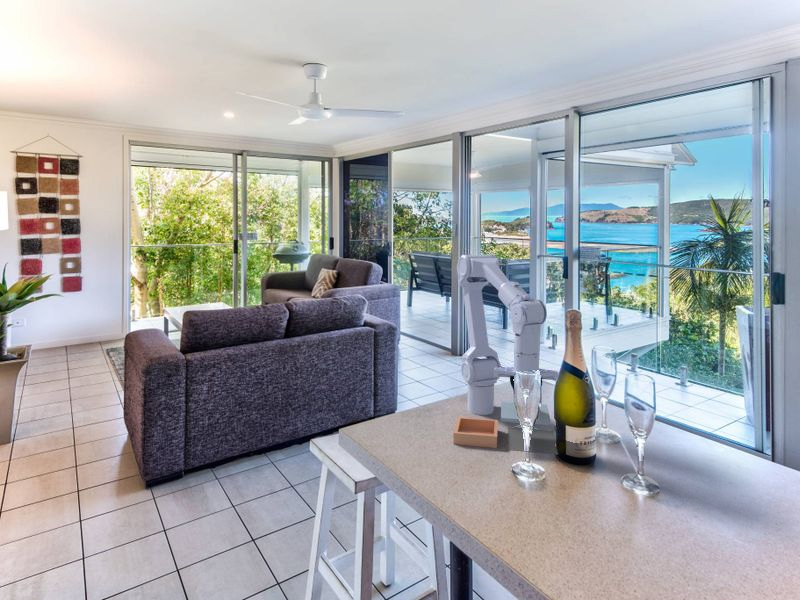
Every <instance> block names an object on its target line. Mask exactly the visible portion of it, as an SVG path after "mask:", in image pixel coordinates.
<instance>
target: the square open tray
mask: <svg viewBox="0 0 800 600" xmlns="http://www.w3.org/2000/svg"><path fill="white" fill-rule="evenodd" d="M456 419H457V420H456V422H455V426H454V429H453V430H454V431H453V441H452V442H453V445H461V446H470V447H471V446H472V447H480V448H481V447H482V448H490V449H491V448H493V449H497V448H498V433H499V432H498V431H499V420H498V419H493V418H492V419H487V418H477V417H464V416H457V418H456Z"/></svg>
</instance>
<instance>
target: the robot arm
mask: <svg viewBox="0 0 800 600" xmlns="http://www.w3.org/2000/svg"><path fill="white" fill-rule="evenodd" d="M456 271H457V272H456V273H457V281H458V286H459V287H461V288H462V294H463V303H464V311H465V318H466V326H467V334H468V342H469V348H468V349H467V350H466V352H464V353H463V355H462V356H461V367H460V368H461V369H460V371H461V377H462V379H463V380H464V381H465V382H466V383H467V412H469V413H470V414H473V415H478V416H487V415H492V414H493V413H494V410H495V407H496V405H495V404H494V403H495V384H497V383H498V380H499V379H500V378H509V382H510V386H511V387H512V391H514V381H513V379H514V373H515V375H516V370H517V371H518V372H519V371H521V372H524V371H529V370H535V371H537V370H539V371H540V375H541V387H543V380H545V381H546V380H548V381H549V380H550V381H554V382H557V381H556V380H558V379H557V377H558V374H559V375H560V372H559V371H558V370H553V369H545V368H540V349H541V346H540V345H541V327H542V326H541V325H543V324H544V323H545V322H546V321H547V320H546V319H547V314H548V313H547V307H546V305H545V303H544V302H543V301H542V300H541V299H535V298H532V297H531V296H530V295H529V294H528V293H527V292H526V291H525V290H524V289H523V288H522V287H521V284H520V283H519V282H518V281H510V280H509V278H508V277H507V276H506V275H505V274H504V272H503V270H502V269H501V268H500V259H498V258H497V256H496V255H495V254H494V253H489V254H462V255H461V256H459V258H458V261H457V264H456ZM489 283H490V284H491V285H492V286H493V288H495V289H496V290H497V291H498V293H497V297H498V299H499V300H500V301H501V302H502V304H503V305H504V306H505V307H506V309H507V310H509V316H510V321H511V323H512V331H513V333H514V349H513V352H514V354H513V366H507V367H506V366H505V367H502V364H501V362H500V359H499V354H498V352H497V351H496V350H494V349H493V348H491V346H489V337H488V330H487V323H486V313H485V308H484V307H485V306H484V299H483V291H482V290H483V289H484V287H486V286H487V285H489ZM482 357H483V358H482ZM476 358H477V359H476ZM558 378H560V376H559V377H558ZM558 381H559V380H558Z"/></svg>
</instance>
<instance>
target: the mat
mask: <svg viewBox="0 0 800 600" xmlns="http://www.w3.org/2000/svg"><path fill="white" fill-rule="evenodd" d="M532 429H533V431H532V434H531V440H530V447H529V452H528V453H539V454H548V455H549V454H550V455H559V452H557V451H558V449H557V450H556V446H557V445H556V446H555V442H556V438H555V432H554V430H548V429H535V428H532ZM507 451H514V452H525V451H524V439H523V432H522V429H521V427H512V426H511V427H509V426H508V427H507Z"/></svg>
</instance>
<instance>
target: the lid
mask: <svg viewBox="0 0 800 600" xmlns="http://www.w3.org/2000/svg"><path fill="white" fill-rule="evenodd" d="M514 402H515V401H514ZM514 402H513V401H501V402H500V422H508V423H518V424H521V423H520V421H519V419H518V416H517V413H516V409H515V405H514ZM534 425H544V426H545V425H546V426H551V425H552V420H551V416H550V412H549V408H548V404H541V407H540V414H539V417H538V419H537V421H536V422H535V424H534Z"/></svg>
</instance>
